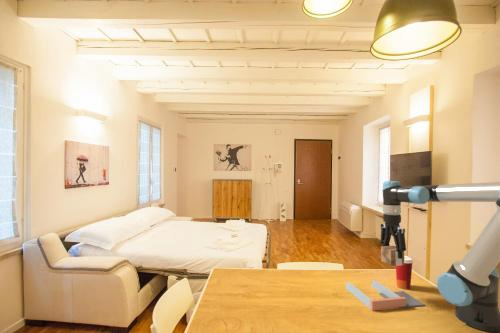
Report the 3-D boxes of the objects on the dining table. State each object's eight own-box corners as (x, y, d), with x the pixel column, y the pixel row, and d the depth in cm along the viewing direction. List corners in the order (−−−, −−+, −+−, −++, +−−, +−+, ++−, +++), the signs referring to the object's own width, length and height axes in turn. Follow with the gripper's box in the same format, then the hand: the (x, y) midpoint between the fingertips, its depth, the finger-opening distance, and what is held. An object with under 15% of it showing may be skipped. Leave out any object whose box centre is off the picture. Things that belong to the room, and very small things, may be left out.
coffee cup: (408, 283, 145) (408, 255, 145) (415, 290, 137) (416, 260, 137) (391, 283, 146) (391, 254, 146) (398, 290, 138) (398, 260, 138)
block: (404, 264, 128) (404, 249, 128) (391, 265, 127) (390, 250, 127) (393, 260, 135) (393, 245, 135) (381, 261, 134) (380, 246, 134)
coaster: (424, 305, 123) (424, 304, 123) (398, 308, 120) (398, 306, 120) (403, 292, 135) (403, 291, 135) (379, 294, 133) (379, 293, 133)
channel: (406, 307, 121) (406, 298, 121) (372, 310, 118) (372, 301, 118) (375, 286, 142) (375, 278, 142) (345, 288, 139) (345, 280, 139)
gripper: (415, 216, 122) (416, 269, 122) (384, 210, 142) (385, 255, 141) (400, 217, 121) (401, 270, 120) (371, 211, 140) (372, 256, 140)
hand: (392, 262), depth 131 cm, fingers closed on block, 7 cm apart
